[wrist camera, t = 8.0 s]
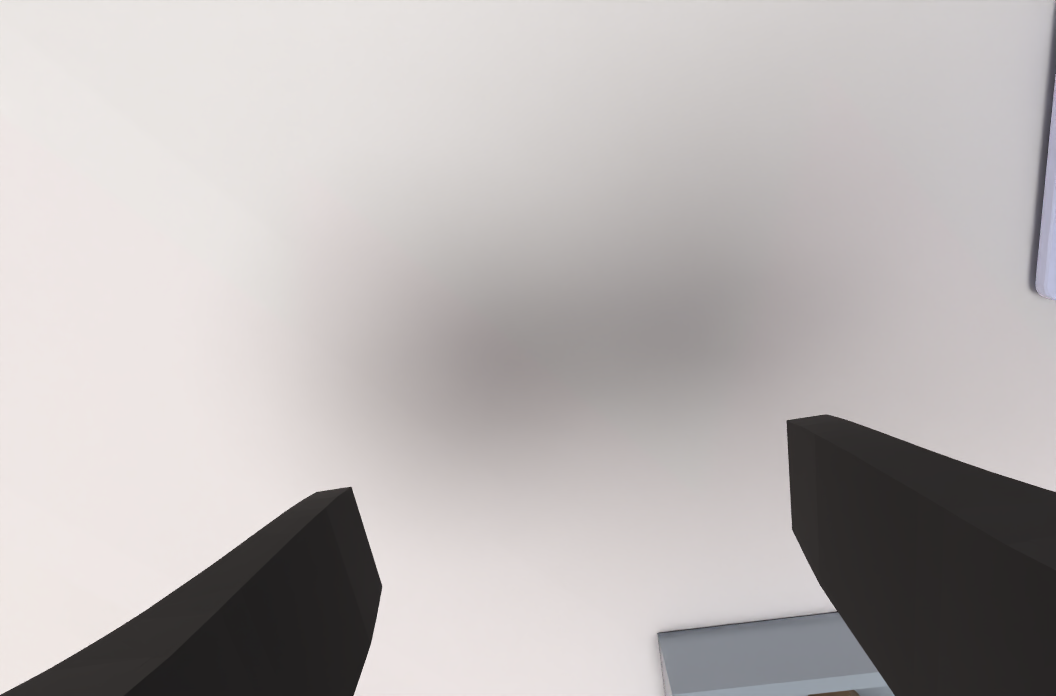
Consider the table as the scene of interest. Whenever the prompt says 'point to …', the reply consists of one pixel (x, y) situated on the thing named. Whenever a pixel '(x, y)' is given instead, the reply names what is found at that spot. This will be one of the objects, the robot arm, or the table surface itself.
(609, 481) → the table surface
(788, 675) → the tray
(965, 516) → the robot arm
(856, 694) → the walnut block
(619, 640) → the table surface
